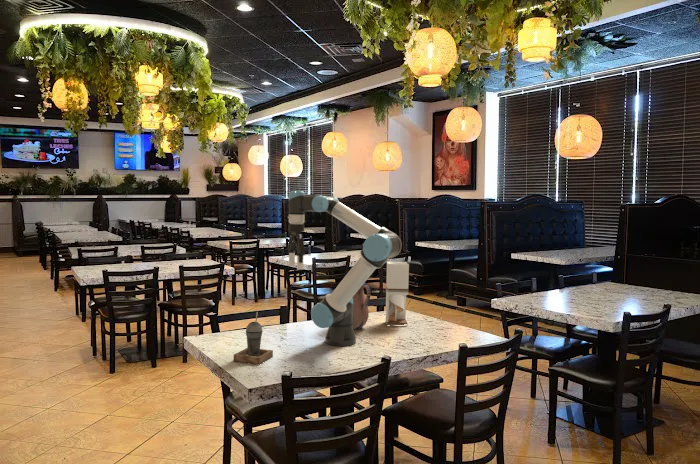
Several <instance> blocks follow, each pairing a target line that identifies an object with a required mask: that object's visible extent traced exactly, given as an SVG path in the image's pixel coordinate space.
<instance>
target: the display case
mask: <svg viewBox="0 0 700 464" xmlns="http://www.w3.org/2000/svg"><path fill="white" fill-rule="evenodd" d="M409 271H410V264H409V263H408V262H407V261H386V281H385V282H386V285H385V286H386V288H385V291H386V292H385V324H387V325H404V324H407V325H408V321H407V319H406V318H407V317H406V314H407V313H406V312H407V309H406V308H407V296H409V283H410V282H409V279H410V277H409V276H410V275H409V273H410V272H409ZM387 325H386V326H387Z"/></svg>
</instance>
